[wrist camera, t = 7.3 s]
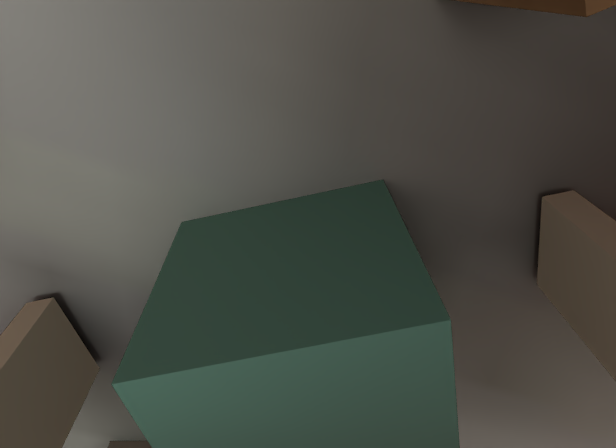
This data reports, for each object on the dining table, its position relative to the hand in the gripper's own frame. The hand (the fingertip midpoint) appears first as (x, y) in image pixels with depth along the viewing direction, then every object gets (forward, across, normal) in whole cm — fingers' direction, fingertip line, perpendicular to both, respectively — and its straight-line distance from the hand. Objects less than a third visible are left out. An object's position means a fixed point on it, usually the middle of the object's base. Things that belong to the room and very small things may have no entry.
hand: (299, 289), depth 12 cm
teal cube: (0, 0, 0) cm, 0 cm away
